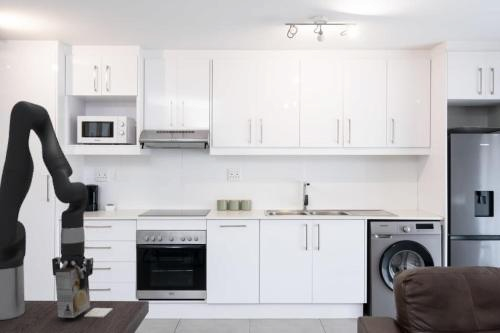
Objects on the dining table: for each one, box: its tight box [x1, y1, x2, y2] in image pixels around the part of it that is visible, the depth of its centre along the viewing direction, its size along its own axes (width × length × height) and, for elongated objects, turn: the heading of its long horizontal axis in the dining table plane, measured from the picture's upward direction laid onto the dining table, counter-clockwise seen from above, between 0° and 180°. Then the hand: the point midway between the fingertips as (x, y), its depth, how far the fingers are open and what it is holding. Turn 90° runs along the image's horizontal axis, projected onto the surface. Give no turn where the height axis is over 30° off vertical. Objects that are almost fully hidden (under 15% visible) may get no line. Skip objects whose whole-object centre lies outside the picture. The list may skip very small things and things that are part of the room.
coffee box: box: [55, 262, 91, 319], centre depth 131 cm, size 9×6×16 cm
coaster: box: [83, 307, 113, 318], centre depth 134 cm, size 7×7×1 cm
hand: (72, 287), depth 131 cm, fingers closed on coffee box, 6 cm apart
